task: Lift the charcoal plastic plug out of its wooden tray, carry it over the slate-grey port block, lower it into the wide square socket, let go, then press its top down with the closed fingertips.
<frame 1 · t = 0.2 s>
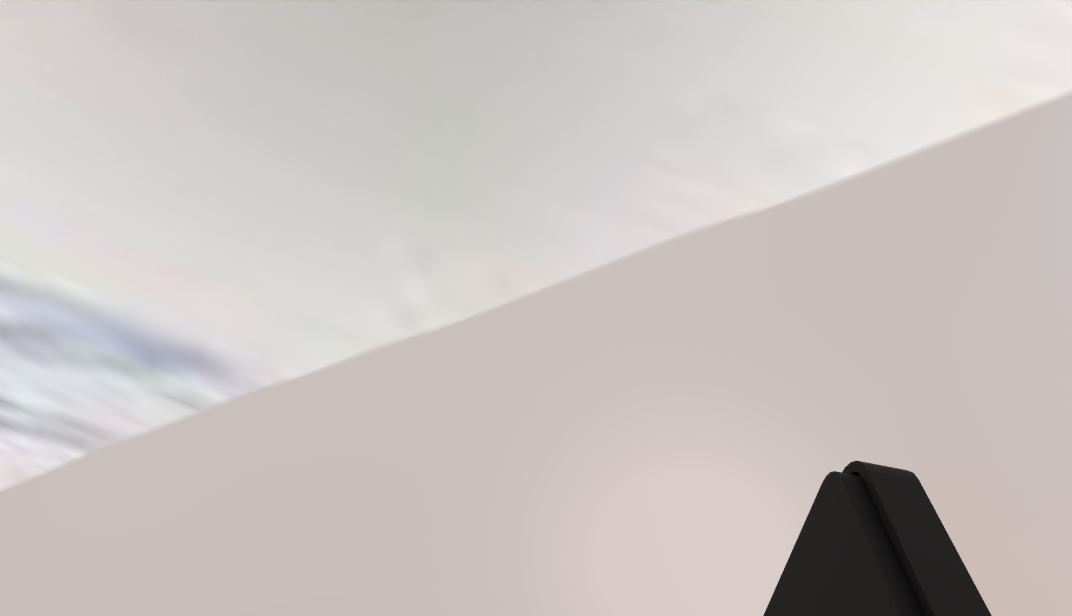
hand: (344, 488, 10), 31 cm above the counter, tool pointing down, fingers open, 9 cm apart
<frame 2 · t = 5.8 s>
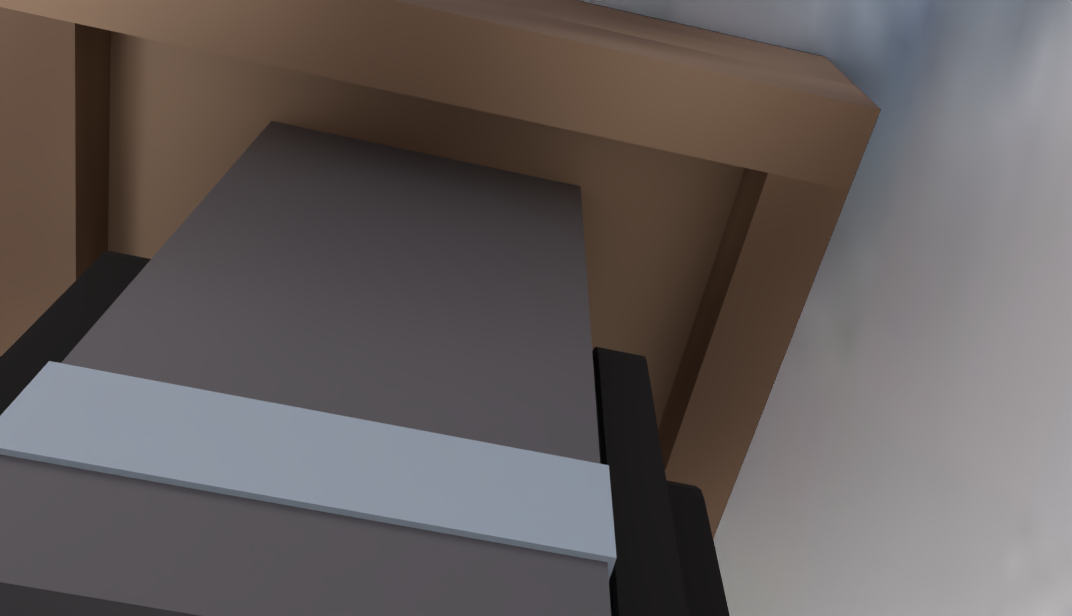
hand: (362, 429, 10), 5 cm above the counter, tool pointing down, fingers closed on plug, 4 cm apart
wooden tray: (417, 245, 15), on the counter
plug: (404, 290, 13), point 2 cm above the counter, touching gripper, wooden tray
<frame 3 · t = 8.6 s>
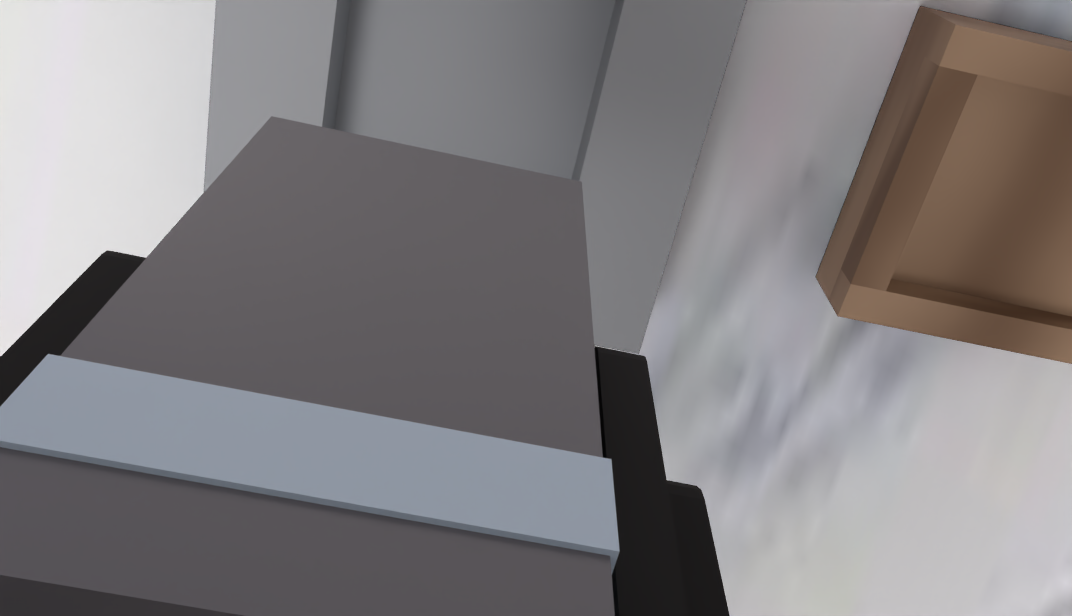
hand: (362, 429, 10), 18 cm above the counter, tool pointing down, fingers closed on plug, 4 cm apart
wooden tray: (1031, 187, 28), on the counter
plug: (405, 286, 13), point 14 cm above the counter, touching gripper
port: (471, 67, 26), on the counter
when the fingers open (5 cm above the counter, at t = 11.4 s): plug stays where it is, resting on port.
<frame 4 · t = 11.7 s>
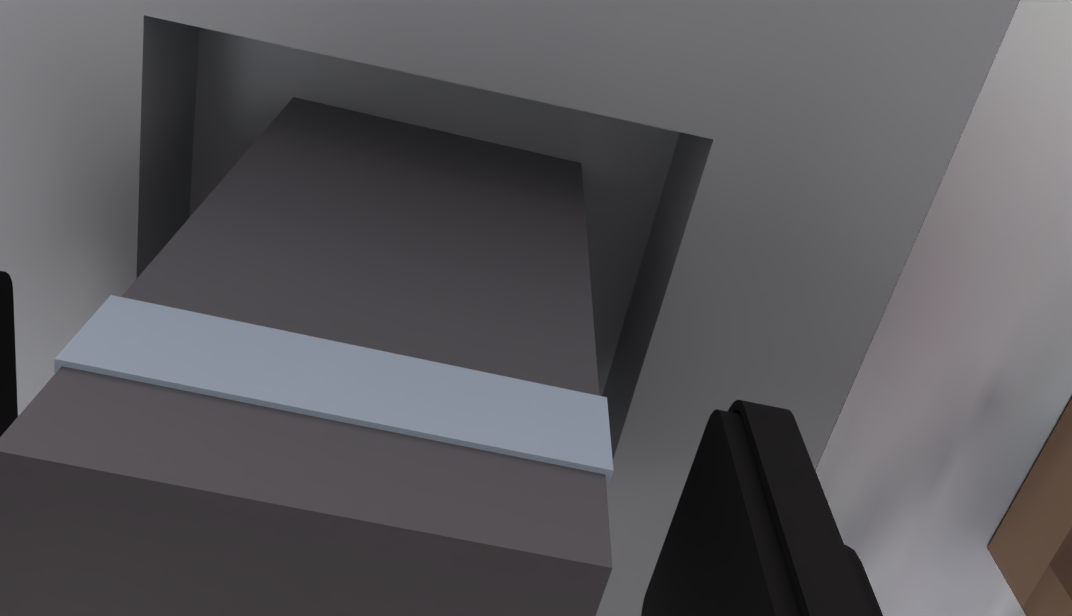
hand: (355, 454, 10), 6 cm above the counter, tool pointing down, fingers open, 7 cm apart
plug: (414, 259, 14), point 1 cm above the counter, touching port
port: (421, 232, 15), on the counter
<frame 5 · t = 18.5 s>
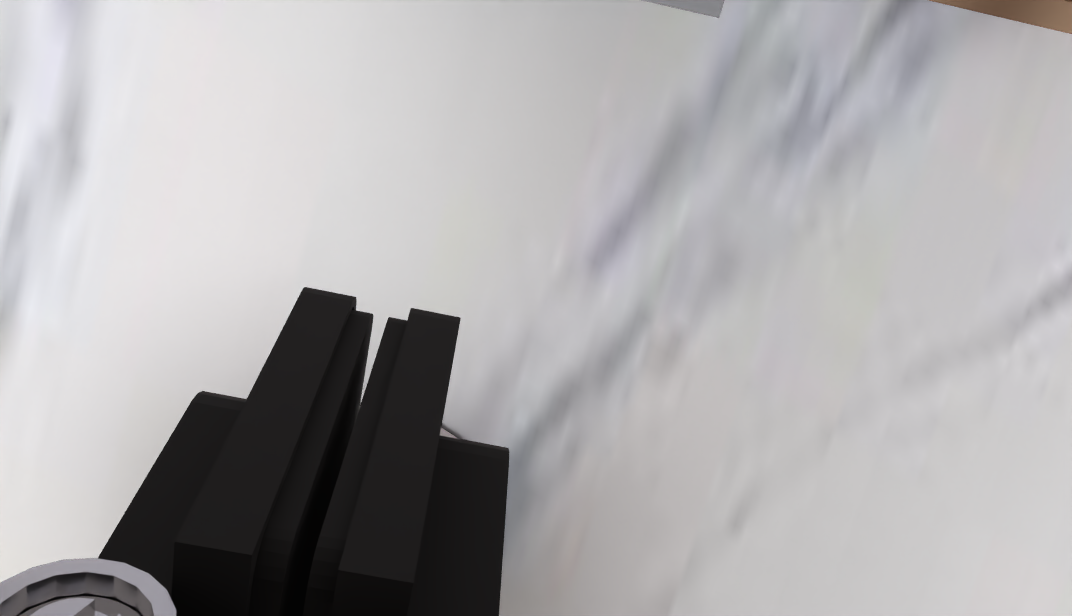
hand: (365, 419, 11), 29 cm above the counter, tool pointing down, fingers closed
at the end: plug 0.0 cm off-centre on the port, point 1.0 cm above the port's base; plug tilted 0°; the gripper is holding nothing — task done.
